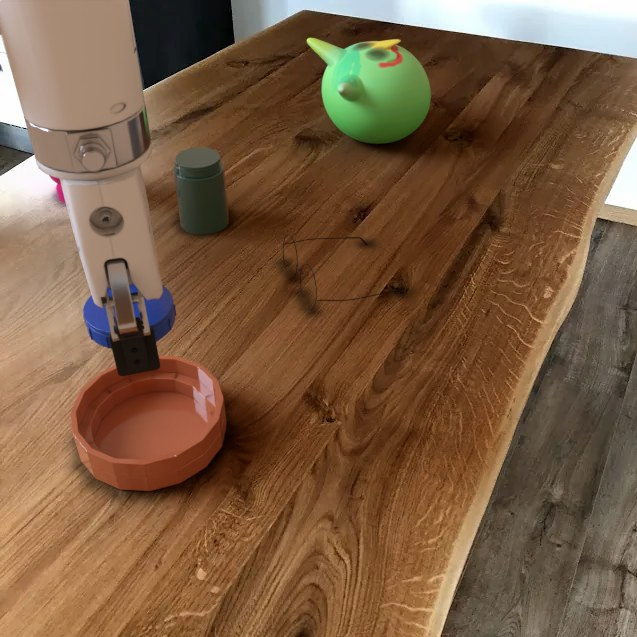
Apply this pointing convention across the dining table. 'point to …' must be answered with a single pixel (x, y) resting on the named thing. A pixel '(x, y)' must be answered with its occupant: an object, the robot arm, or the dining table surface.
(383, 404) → the dining table surface
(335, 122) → the toy bird
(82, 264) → the robot arm
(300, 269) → the eyeglasses
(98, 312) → the lid
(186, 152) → the jar
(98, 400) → the bowl
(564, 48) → the dining table surface
